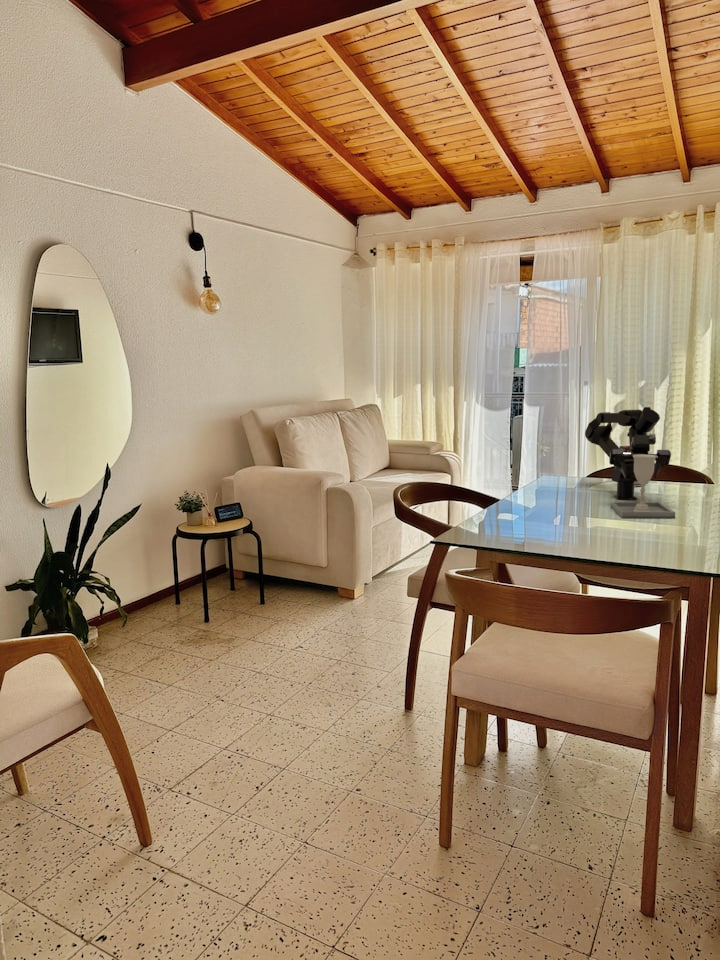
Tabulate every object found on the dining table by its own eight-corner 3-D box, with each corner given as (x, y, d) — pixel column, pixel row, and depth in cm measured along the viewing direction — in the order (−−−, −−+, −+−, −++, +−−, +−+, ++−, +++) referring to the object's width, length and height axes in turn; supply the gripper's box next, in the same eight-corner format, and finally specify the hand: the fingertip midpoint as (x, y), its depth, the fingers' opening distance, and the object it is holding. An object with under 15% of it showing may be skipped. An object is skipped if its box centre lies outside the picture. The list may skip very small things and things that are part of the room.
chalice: (646, 508, 224) (649, 454, 221) (658, 512, 217) (661, 456, 214) (625, 509, 223) (628, 455, 220) (636, 513, 216) (639, 457, 213)
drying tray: (610, 507, 229) (610, 502, 229) (659, 508, 227) (660, 502, 227) (621, 518, 215) (622, 512, 214) (675, 518, 213) (675, 512, 212)
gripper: (611, 425, 228) (613, 462, 220) (671, 425, 223) (675, 464, 215) (608, 445, 237) (609, 482, 229) (666, 446, 232) (669, 483, 224)
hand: (640, 477), depth 224 cm, fingers open, 9 cm apart
